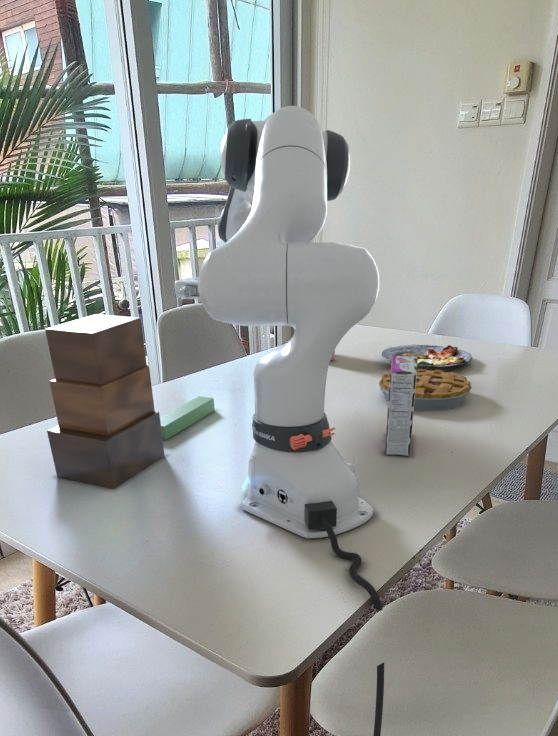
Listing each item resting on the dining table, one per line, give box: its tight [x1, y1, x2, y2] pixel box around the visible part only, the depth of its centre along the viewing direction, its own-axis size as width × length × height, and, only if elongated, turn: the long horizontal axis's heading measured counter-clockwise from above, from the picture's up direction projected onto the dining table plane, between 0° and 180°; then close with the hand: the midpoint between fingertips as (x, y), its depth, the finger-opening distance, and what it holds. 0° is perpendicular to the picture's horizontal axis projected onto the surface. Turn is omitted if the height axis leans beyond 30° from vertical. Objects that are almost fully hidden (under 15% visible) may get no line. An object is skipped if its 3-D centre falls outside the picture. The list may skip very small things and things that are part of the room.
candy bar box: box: [384, 356, 418, 457], centre depth 119 cm, size 11×5×16 cm, turn 168°
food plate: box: [380, 344, 473, 369], centre depth 175 cm, size 25×23×4 cm
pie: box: [377, 368, 473, 411], centre depth 148 cm, size 22×22×5 cm
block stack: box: [44, 313, 165, 489], centre depth 111 cm, size 16×13×26 cm
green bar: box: [160, 395, 216, 441], centre depth 137 cm, size 20×4×3 cm, turn 154°
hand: (200, 295), depth 133 cm, fingers open, 8 cm apart
